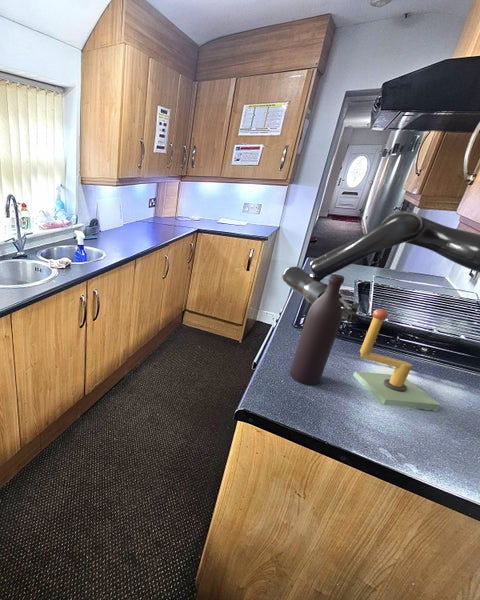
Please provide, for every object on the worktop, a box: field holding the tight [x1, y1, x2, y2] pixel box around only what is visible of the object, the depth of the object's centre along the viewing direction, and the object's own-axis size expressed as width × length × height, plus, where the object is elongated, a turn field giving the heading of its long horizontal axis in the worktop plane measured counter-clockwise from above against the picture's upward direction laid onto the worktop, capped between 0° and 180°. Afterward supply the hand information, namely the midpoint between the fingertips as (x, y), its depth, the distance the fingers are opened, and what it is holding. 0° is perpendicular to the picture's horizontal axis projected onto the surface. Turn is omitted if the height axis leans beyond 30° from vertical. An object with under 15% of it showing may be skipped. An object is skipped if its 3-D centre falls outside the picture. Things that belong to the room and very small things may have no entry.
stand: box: [352, 370, 441, 411], centre depth 85 cm, size 12×12×3 cm
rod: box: [359, 308, 413, 387], centre depth 83 cm, size 11×3×19 cm, turn 52°
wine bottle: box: [289, 273, 345, 386], centre depth 84 cm, size 7×7×30 cm
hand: (354, 318), depth 91 cm, fingers closed
